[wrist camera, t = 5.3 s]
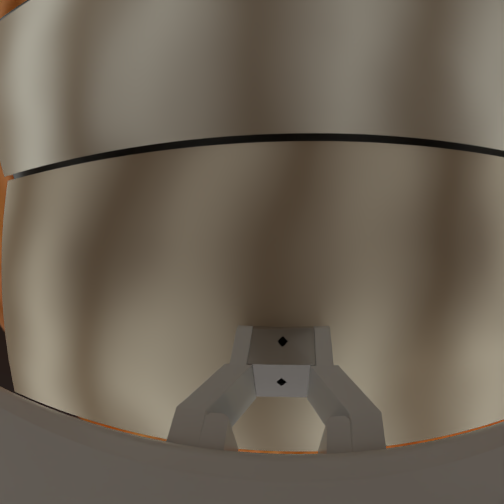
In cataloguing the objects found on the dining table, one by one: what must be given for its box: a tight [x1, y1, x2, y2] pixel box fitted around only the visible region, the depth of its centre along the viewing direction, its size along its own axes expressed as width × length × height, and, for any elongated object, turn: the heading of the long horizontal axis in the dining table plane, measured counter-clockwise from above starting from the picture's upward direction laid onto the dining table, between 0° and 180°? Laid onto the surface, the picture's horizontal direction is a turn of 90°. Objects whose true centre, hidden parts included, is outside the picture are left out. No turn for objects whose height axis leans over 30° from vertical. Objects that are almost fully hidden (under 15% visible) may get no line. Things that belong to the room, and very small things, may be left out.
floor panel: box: [0, 0, 504, 179], centre depth 13 cm, size 32×25×2 cm
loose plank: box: [2, 141, 504, 451], centre depth 12 cm, size 30×12×2 cm
